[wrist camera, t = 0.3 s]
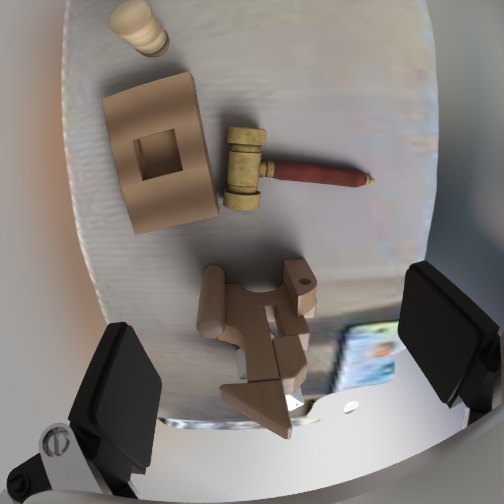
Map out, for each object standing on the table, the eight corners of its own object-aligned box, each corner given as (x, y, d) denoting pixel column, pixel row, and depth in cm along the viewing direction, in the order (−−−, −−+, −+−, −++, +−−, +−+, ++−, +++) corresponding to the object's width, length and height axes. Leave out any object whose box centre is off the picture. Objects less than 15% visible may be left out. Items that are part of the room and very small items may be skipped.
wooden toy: (306, 256, 42) (379, 388, 19) (304, 293, 44) (360, 427, 22) (201, 264, 41) (182, 413, 18) (207, 302, 44) (199, 449, 21)
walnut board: (114, 101, 30) (102, 99, 26) (193, 77, 30) (189, 71, 26) (143, 224, 37) (135, 235, 34) (219, 208, 37) (218, 216, 34)
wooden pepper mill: (140, 38, 26) (107, 8, 16) (169, 30, 27) (147, -7, 16) (143, 64, 28) (109, 39, 17) (174, 55, 28) (151, 25, 17)
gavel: (387, 149, 33) (375, 218, 37) (370, 146, 37) (360, 209, 41) (229, 126, 29) (224, 210, 33) (227, 126, 33) (222, 201, 37)
